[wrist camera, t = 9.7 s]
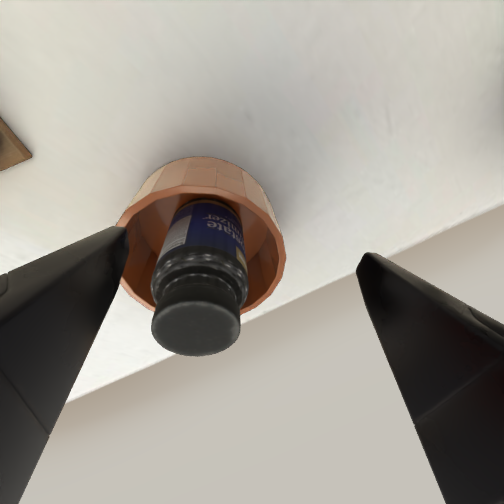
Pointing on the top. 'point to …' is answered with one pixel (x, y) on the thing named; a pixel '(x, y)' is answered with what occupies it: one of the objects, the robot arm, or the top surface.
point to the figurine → (11, 148)
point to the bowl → (208, 186)
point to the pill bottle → (200, 280)
